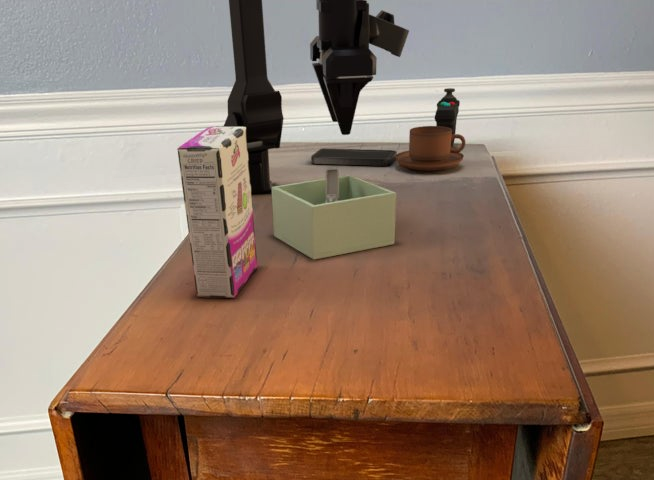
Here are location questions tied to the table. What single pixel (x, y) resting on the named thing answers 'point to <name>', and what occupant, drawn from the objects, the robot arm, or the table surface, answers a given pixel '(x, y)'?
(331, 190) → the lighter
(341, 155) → the phone
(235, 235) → the candy bar box
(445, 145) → the cup and saucer
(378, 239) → the open square storage bin
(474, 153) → the table surface
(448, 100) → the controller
